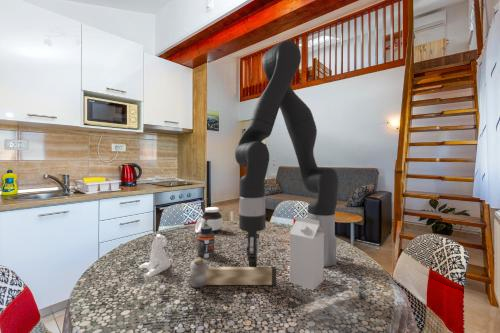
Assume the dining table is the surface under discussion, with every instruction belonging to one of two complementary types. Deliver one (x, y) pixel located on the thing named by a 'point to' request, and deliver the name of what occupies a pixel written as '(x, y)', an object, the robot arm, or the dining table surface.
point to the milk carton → (306, 253)
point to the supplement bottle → (206, 242)
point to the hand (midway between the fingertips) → (252, 272)
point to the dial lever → (230, 275)
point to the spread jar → (210, 220)
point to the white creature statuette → (157, 257)
